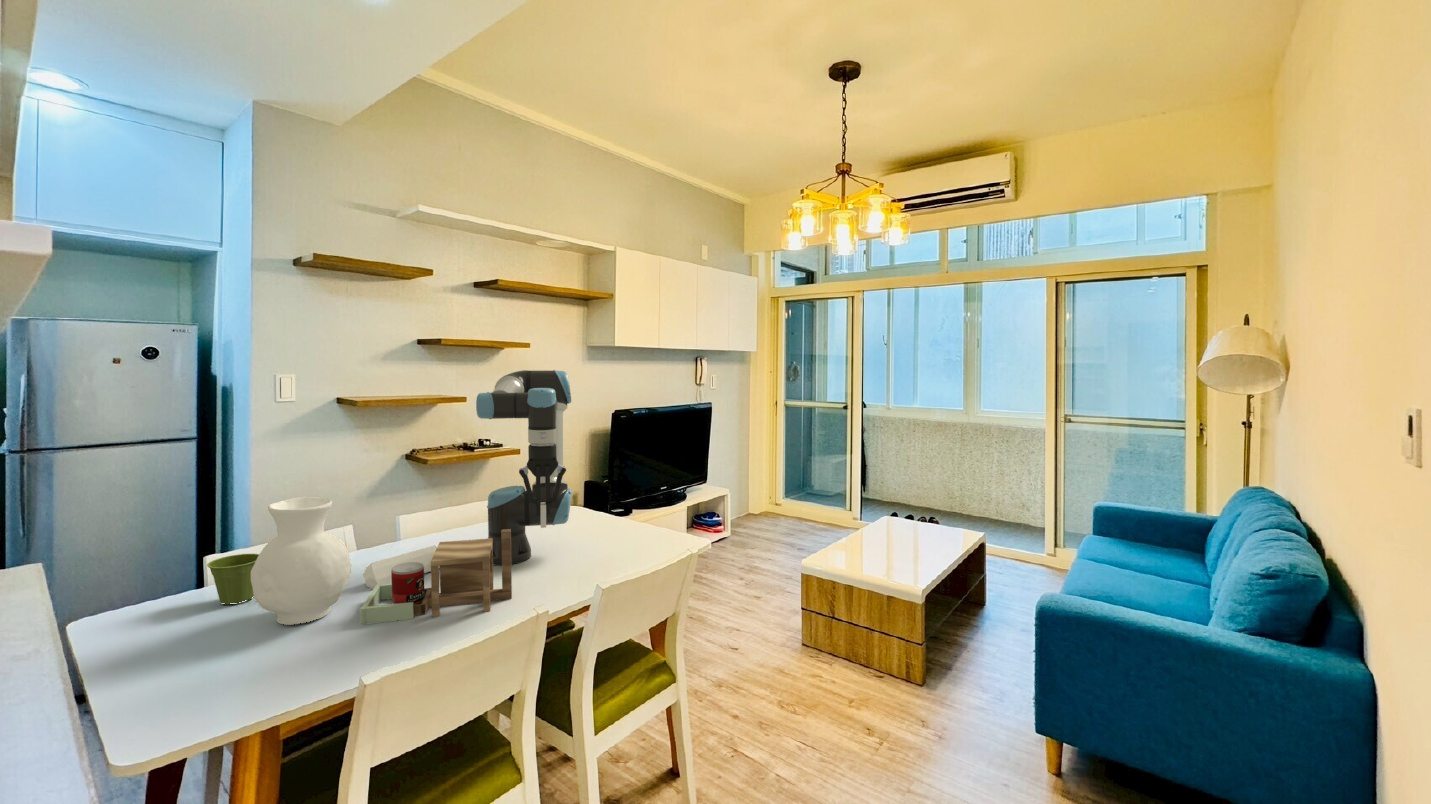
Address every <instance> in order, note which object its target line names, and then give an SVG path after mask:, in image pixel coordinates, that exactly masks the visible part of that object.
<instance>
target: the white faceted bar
mask: <svg viewBox="0 0 1431 804" xmlns="http://www.w3.org/2000/svg"><path fill="white" fill-rule="evenodd" d="M437 547H438V546H436V545H435V544H434V545H431V546H428V547H425V548H424V547H423V548H420V549H417V550H414V551H410V552H406V553H402V554H399V555H396V556H392V557H388V558H385V559H381V560H379V561H373V562H371V563H370V564H369V565H368V566H366V567H365V570H364V572H363V574H362V575H363V579H364V582H365V585H366V587H368V588H369V587H370V589H374V587H375V586H376V585H379V584H390V583H392V579H391V571H392V568H393V567H394V566H396V565H399V564H402V563H408V562H418V563H422V564H423V565H424V574H427V573H429V572H430V573H431V560H432V558H433V555H434V553H435V551H436V549H437ZM439 569H440V565H439Z"/></svg>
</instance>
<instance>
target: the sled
mask: <svg viewBox="0 0 1431 804" xmlns="http://www.w3.org/2000/svg"><path fill="white" fill-rule="evenodd" d="M501 544H502V565H501V585H502V586H501V588H495V589H494V588H493V589H490V602H492V601H493V602H494V601H500V600H501V601H503V600H511V599H512V598H513V592H512V591H513V590H512V589H513V587H512V586H513V585H512V583H513V581H512V576H513V575H512V564H511V529H505V530H502V531H501ZM424 591H425V597H424V599H423V601H422V604H416V605H413V606H414V616H421V615H426V614H427V611H428V608H432V591H431V587H427V588H425V587H424ZM439 601H440V607H443V606H444V607H445V606H452V605H453V606H454V605H463V604H464V605H465V604H474V603H482V602H483V590H480V591H469V592H459V593H449V594H439Z"/></svg>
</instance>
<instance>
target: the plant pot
mask: <svg viewBox="0 0 1431 804" xmlns="http://www.w3.org/2000/svg"><path fill="white" fill-rule="evenodd" d="M259 554H260V553H259ZM259 554H258V553H241V554H233V555H227V556H223V557H220V558H215V559H214V560H211V561H209V562H208V563H207V565H206V567H207V568H209V570H210V572H211V575H212V576H213V581H214V583H215V588H216V591H217V595H218V600H219V603H220V602H221V603H225V605H228V604H230V603H239V602H242V601H245V600H248V599H249V600H252V599H251V598H252V597H253V596H254V594H253V588H252V584H251V570H252V568H253V566H254V564H255V561H256V560H257V558H258V556H259ZM253 598H254V597H253ZM249 600H248V601H249ZM221 603H220V604H221Z"/></svg>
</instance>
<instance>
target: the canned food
mask: <svg viewBox="0 0 1431 804" xmlns="http://www.w3.org/2000/svg"><path fill="white" fill-rule="evenodd" d="M391 579H392V599H391V601H392V603H391V604H399V603H409V602H413V605H416V604H422V601H423V599H424V597H425V591H424V588H425V573H424V565H423V564H422V563H418V562H408V563H402V564H399V565H396V566H394V567H393V568H392V571H391Z"/></svg>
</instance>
